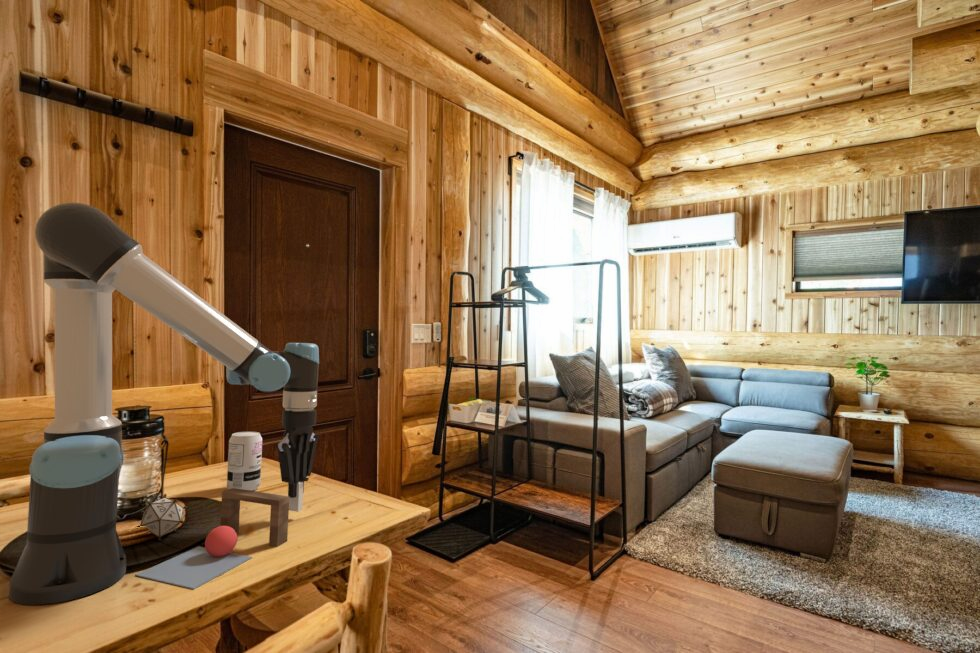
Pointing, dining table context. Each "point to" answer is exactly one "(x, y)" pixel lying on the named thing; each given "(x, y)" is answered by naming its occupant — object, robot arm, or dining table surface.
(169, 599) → the dining table surface
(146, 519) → the game die
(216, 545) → the ball
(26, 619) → the dining table surface
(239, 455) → the supplement can
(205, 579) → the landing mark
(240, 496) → the bridge
